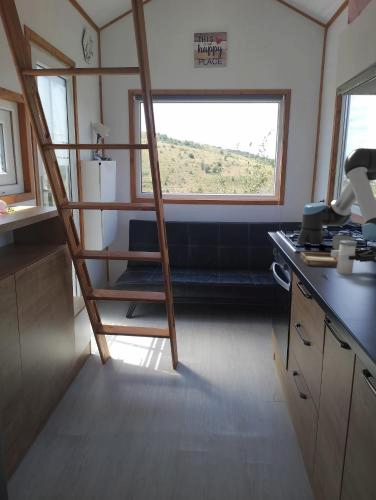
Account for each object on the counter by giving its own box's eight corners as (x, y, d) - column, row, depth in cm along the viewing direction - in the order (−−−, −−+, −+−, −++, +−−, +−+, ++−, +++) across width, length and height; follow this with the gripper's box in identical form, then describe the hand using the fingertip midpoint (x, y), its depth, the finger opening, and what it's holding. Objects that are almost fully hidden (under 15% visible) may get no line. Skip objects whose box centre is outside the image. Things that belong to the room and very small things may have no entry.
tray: (299, 256, 197) (300, 251, 197) (332, 258, 196) (332, 253, 196) (307, 265, 182) (307, 260, 181) (342, 267, 181) (342, 261, 180)
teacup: (354, 254, 204) (356, 240, 202) (332, 253, 206) (334, 238, 204) (349, 248, 218) (351, 234, 216) (328, 247, 220) (330, 233, 218)
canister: (332, 270, 175) (336, 240, 171) (345, 270, 176) (349, 239, 173) (342, 275, 168) (346, 243, 165) (355, 274, 170) (360, 243, 166)
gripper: (395, 267, 167) (349, 270, 161) (365, 256, 185) (322, 257, 179) (398, 250, 165) (351, 252, 159) (367, 240, 183) (324, 242, 177)
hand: (336, 255), depth 169 cm, fingers closed on canister, 6 cm apart
